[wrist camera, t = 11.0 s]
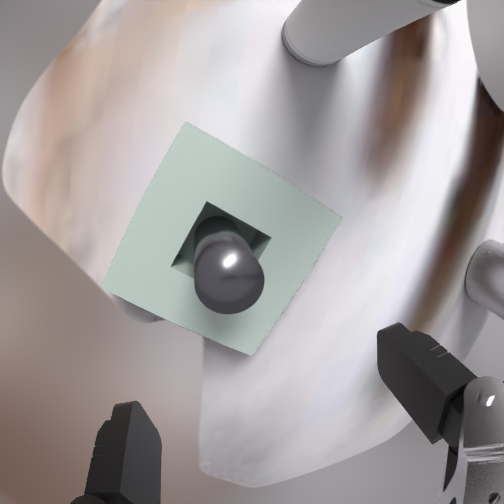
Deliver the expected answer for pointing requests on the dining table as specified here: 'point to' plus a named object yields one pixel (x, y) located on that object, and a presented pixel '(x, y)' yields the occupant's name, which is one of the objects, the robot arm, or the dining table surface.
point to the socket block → (207, 205)
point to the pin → (225, 267)
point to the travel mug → (347, 25)
